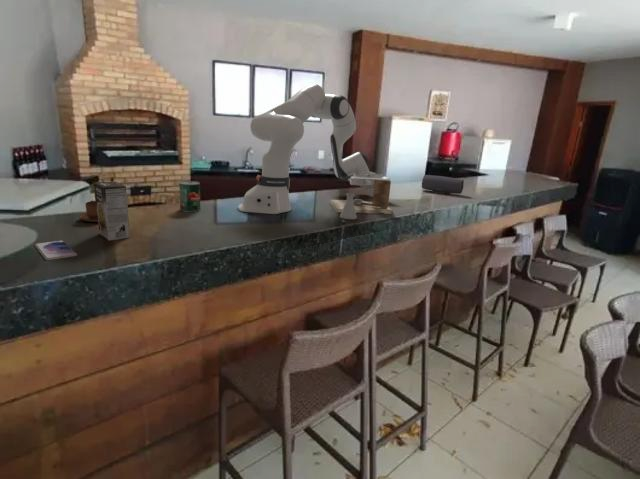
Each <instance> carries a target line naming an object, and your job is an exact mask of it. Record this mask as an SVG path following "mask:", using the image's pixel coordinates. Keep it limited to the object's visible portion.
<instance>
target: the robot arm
mask: <svg viewBox="0 0 640 479" xmlns="http://www.w3.org/2000/svg"><path fill="white" fill-rule="evenodd" d="M310 117H311V118H315V119H316V118H317V119H322V120H331V123H332V126H333V130H332V133H331V135H330V139H329V140H330V148H331V156H332V163H333V164H332V165H333V171H334V174H335V176H336V178H338V179H341V180H346V179H347V181H348V182H349V185H351V186H360V187H361V188H362V189H366V190H367V189H371V188H373V189H374V182H375V179H377V180H386V181H391V179H390V178H389V177H387V176H385V175H384V174H383V173H377V172H373V171H370V169H371V163H370V161H369V158H368V157H367V156H366V154H365V153H364V152H361V151H357V152H354V153H352V154H351V155H349V156H346V157H345V158H342V152H341V150H342V147H343V145H344V144H345V143H346V142H347V141H348V140H349V139H350V138H351V137H352V136H353V135H354V133H355V132H356V130H357V121H356V118H355V114H354V111H353V109H352V106H351V104H350V103H349V100H348V99H347V98H346V96H345V95H341V94H333V93H325V90H324V89H323V87H322V86H321V85H319V84H317V83H311V84H309V85H306V86H305V87H303V88H301V89H300V90H298V91H297V92H296V93H295V94H293V96H291V97H290V98H289V99H288V100H286V101H285V102H283V103H281V104H279V105H278V106H275V107H273V108H271V109H270V110H267V111H266V112H263V113H261V114H259V115H255V116H254V117H252V118H251V119H252V120H251V122H250V132H251V134H252V135H253V137H255V138H256V139H259V140H261V141H264V142H270V147H269V150H268V151H267V152H265V153H264V155H263V156H262V165H261V166H262V167H261V169H262V170H261V175H259V174H257V176H256V178H255V179H256V185H254V186H253V187H251V188H250V189H248V190H247V191H246V192H245V194H244V196H243V202H241V203H240V204H238V206H237V209H238V211H239V212H241V213H242V212H244V213H254V214H255V213H256V214H257V213H258V214H269V215H271V214H272V215H277V214H281V213H286V212H287V213H288V212H290V211H291V210H292V208H291V203H290V194H289V193H290V192H289V189H290V184H291V183H290V182H291V180H290V179H291V178H290V176H289V175H290V174H289V171H290V170H289V169H290V159H291V155H292V152H293V150H294V148H295V146H296V144H297V143H298V142H300V141H301V140H302V138H303V136H304V133H305V126H304V123H305V122H306V121H308V120H309V119H310Z"/></svg>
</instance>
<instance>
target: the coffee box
mask: <svg viewBox="0 0 640 479" xmlns="http://www.w3.org/2000/svg"><path fill="white" fill-rule="evenodd" d="M93 188H94V198H95V201H96V208H97V217H98V222H97V224H98V225H97V226H98V233H99V235H101V236H102V237H104V238H105V239H106V240H107V241H109V242H110V241H115V240H123V239H128V238H131V235H130V224H129V223H130V222H129V207H128V195H127V194H128V193H127V186H126V185H124V184H122V183H120V182H117V181H97V182H96V181H95V182H93Z"/></svg>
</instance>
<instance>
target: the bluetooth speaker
mask: <svg viewBox="0 0 640 479" xmlns="http://www.w3.org/2000/svg"><path fill="white" fill-rule="evenodd" d="M422 177H423V178H422V181H421V188H422V189H423V190H428V191H431V192H432V193H434V194H442V195H451V194H454V195H455V194H457V195H459V194H460V195H461V194H462V193H463V189H464V184H465V183H464V179H462V178H456V177H449V176H442V175H434V174H433V175H432V174H424V175H423V176H422Z"/></svg>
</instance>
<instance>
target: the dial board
mask: <svg viewBox="0 0 640 479" xmlns="http://www.w3.org/2000/svg"><path fill="white" fill-rule="evenodd" d="M353 201H354V199H353ZM329 202H330V204H331V206H332V207H333V209H334V210H335V212H336V213H341V212H342V210H343V208H344V206H345V203H346V199H330V201H329ZM362 202H365V203H373V200H362ZM354 208H355V212H356V214H379V213H384V214H383V215H394V210H393V209H392V208H390V207H389V206H388V208H382V207H375V206H367V205H354Z"/></svg>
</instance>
